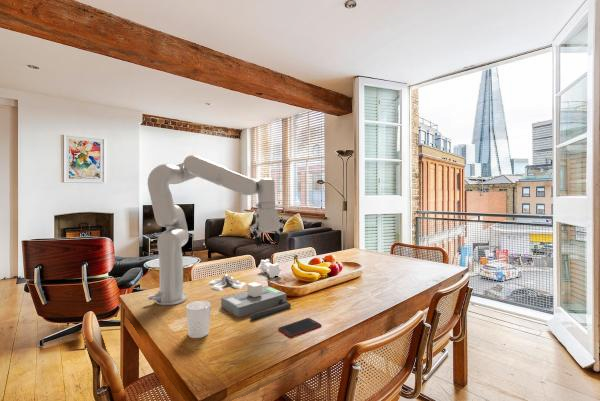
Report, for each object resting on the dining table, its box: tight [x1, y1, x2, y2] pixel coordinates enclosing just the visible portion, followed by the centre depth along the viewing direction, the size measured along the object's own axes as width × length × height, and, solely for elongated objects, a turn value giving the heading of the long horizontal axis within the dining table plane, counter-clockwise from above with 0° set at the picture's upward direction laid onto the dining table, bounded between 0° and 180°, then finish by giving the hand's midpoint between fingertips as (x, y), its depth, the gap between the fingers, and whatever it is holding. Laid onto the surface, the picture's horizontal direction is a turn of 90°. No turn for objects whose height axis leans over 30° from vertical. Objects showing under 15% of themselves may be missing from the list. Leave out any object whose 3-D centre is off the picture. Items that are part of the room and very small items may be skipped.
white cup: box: [185, 300, 212, 339], centre depth 102 cm, size 8×8×10 cm
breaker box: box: [220, 285, 287, 318], centre depth 129 cm, size 24×14×4 cm, turn 133°
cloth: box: [207, 273, 247, 292], centre depth 156 cm, size 22×19×6 cm
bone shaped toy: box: [257, 258, 282, 279], centre depth 174 cm, size 15×9×8 cm, turn 31°
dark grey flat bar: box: [249, 300, 292, 321], centre depth 122 cm, size 20×6×2 cm, turn 133°
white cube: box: [246, 281, 263, 297], centre depth 129 cm, size 4×5×4 cm
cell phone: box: [278, 317, 322, 339], centre depth 108 cm, size 8×15×1 cm, turn 128°
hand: (267, 244), depth 134 cm, fingers open, 9 cm apart
